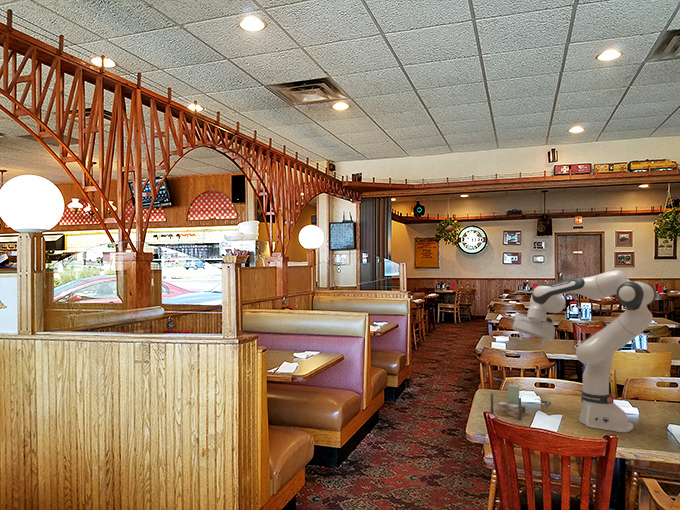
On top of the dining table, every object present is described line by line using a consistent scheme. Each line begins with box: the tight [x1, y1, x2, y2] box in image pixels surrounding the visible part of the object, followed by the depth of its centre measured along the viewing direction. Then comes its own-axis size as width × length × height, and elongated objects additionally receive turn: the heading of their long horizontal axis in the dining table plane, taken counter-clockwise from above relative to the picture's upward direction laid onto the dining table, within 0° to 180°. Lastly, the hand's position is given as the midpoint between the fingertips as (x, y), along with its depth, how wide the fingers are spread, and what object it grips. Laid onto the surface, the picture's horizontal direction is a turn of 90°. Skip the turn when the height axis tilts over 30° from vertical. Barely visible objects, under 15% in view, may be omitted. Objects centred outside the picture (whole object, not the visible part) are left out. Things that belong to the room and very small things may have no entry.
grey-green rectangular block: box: [507, 384, 520, 405], centre depth 254 cm, size 5×2×13 cm, turn 48°
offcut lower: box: [496, 407, 519, 418], centre depth 250 cm, size 10×5×2 cm, turn 48°
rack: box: [490, 392, 532, 421], centre depth 251 cm, size 16×12×12 cm
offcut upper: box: [497, 401, 519, 412], centre depth 250 cm, size 9×4×2 cm, turn 48°
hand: (530, 343), depth 259 cm, fingers open, 8 cm apart
